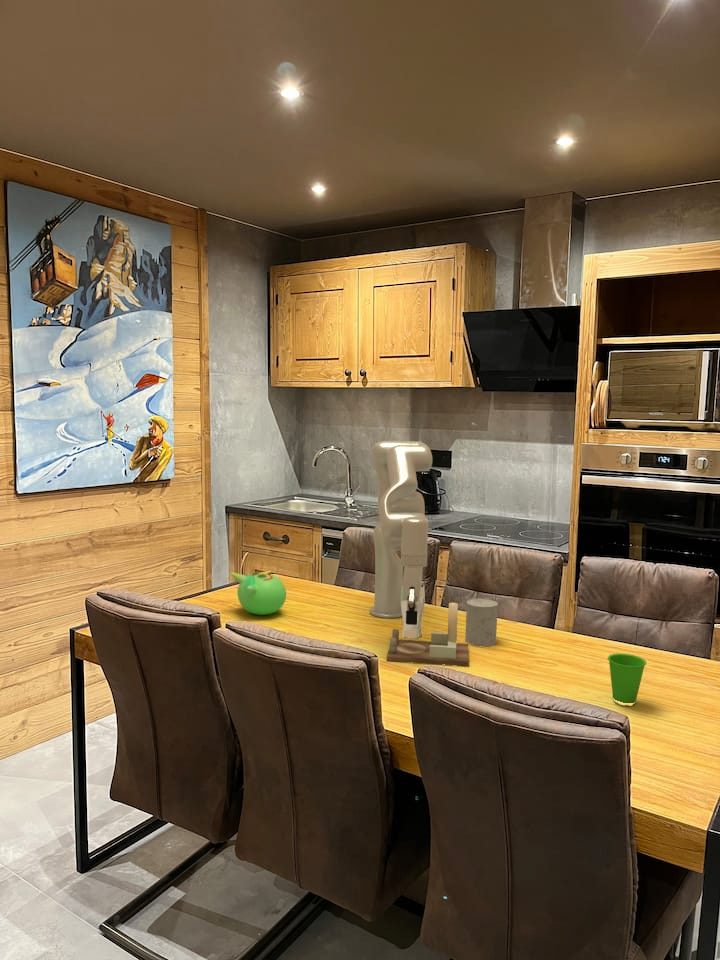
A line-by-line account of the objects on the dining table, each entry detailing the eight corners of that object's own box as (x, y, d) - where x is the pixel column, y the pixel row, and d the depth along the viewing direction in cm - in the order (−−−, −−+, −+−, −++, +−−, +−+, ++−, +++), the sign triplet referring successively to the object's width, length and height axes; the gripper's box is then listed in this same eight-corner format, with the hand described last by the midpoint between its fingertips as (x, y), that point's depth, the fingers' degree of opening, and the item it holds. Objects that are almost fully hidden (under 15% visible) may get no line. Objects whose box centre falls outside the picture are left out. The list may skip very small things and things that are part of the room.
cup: (599, 695, 185) (601, 653, 184) (633, 694, 186) (636, 653, 185) (614, 710, 176) (617, 666, 175) (650, 709, 177) (653, 666, 176)
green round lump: (294, 616, 246) (295, 574, 245) (249, 624, 237) (249, 580, 235) (270, 603, 261) (270, 563, 260) (226, 610, 252) (226, 568, 250)
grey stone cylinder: (499, 639, 227) (501, 600, 226) (491, 648, 219) (493, 608, 217) (470, 634, 231) (471, 596, 230) (461, 643, 223) (462, 604, 221)
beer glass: (422, 640, 208) (423, 589, 206) (398, 638, 209) (399, 587, 208) (424, 633, 215) (426, 583, 213) (401, 631, 216) (402, 581, 215)
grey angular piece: (431, 642, 218) (432, 596, 217) (456, 643, 217) (457, 598, 216) (429, 657, 205) (430, 608, 204) (456, 659, 204) (457, 610, 203)
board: (391, 643, 221) (391, 626, 220) (467, 648, 218) (468, 630, 217) (386, 661, 206) (387, 642, 206) (468, 666, 203) (469, 647, 203)
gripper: (403, 553, 219) (401, 611, 221) (398, 565, 202) (396, 629, 203) (428, 554, 218) (426, 613, 220) (425, 567, 201) (423, 630, 202)
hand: (412, 620), depth 211 cm, fingers closed on beer glass, 6 cm apart
